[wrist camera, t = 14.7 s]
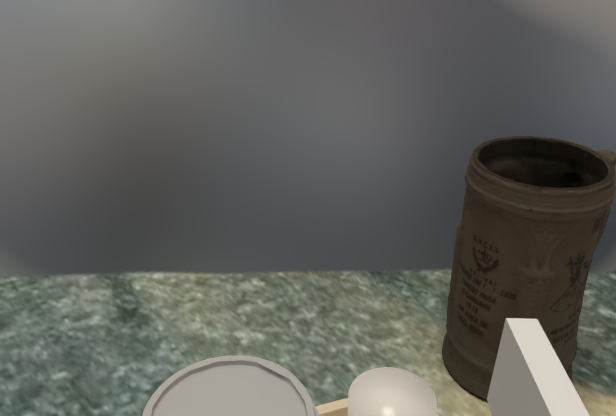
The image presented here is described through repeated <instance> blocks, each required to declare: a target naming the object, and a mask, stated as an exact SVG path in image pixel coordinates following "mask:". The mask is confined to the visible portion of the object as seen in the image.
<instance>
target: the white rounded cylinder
mask: <svg viewBox="0 0 616 416" xmlns="http://www.w3.org/2000/svg"><path fill="white" fill-rule="evenodd" d="M436 411H437V401H436V397H435V395H434V392H433V391H432V389H431V388H430V386H429V385H428V384H427V383H426V382H425V381H424V380H422V379H421V378H420V377H418V376H417V375H415V374H413V373H411V372H409V371H406V370H403V369H399V368H392V367H381V368H374V369H371V370H368V371H366V372H364V373H362V374H360V375H359V376H358V377H357V378H356V379H355V380H354V381H353V383H352V384H351V386H350V389H349V395H348V412H347V416H436Z"/></svg>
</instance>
